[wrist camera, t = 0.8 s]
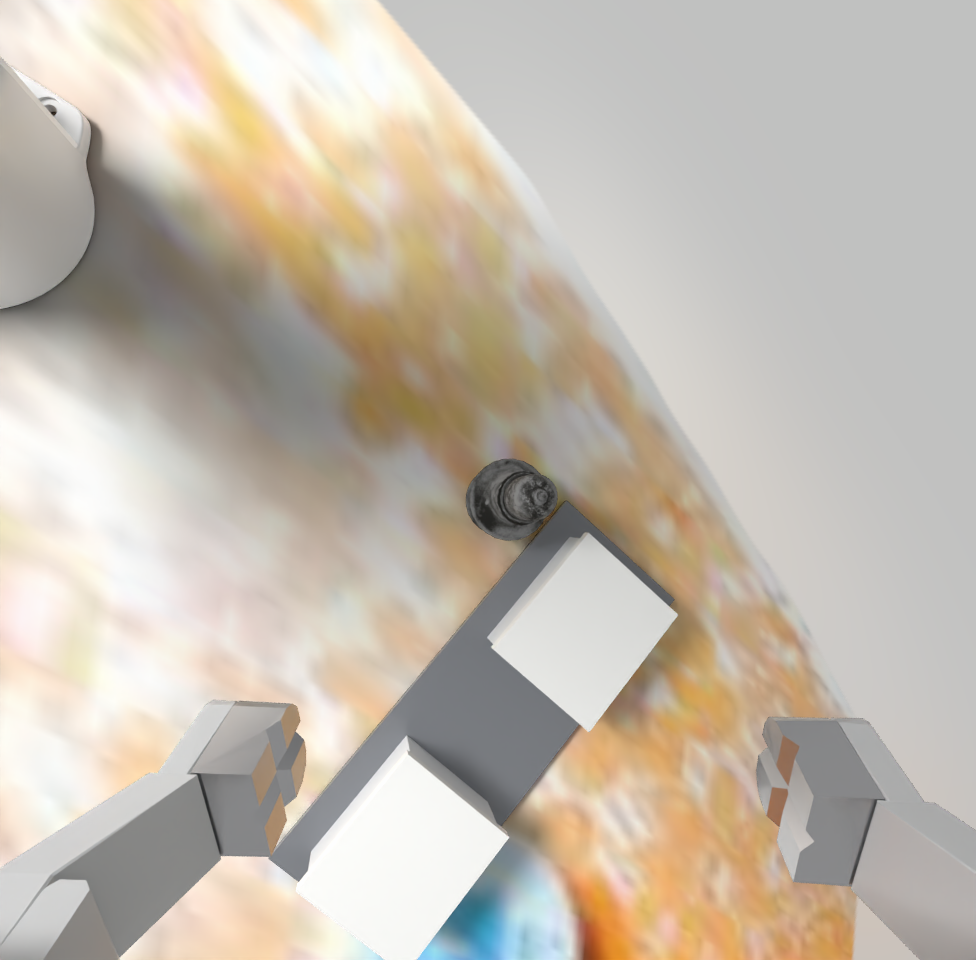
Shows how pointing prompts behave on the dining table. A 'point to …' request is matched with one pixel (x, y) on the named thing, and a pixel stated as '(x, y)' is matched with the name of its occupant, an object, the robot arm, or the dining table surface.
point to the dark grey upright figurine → (510, 499)
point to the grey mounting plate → (474, 738)
